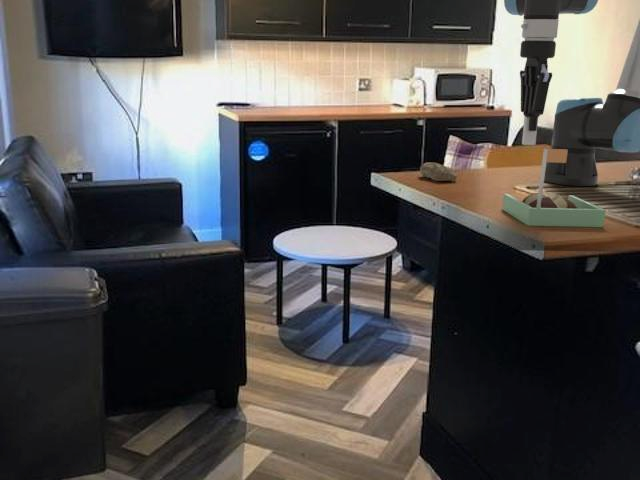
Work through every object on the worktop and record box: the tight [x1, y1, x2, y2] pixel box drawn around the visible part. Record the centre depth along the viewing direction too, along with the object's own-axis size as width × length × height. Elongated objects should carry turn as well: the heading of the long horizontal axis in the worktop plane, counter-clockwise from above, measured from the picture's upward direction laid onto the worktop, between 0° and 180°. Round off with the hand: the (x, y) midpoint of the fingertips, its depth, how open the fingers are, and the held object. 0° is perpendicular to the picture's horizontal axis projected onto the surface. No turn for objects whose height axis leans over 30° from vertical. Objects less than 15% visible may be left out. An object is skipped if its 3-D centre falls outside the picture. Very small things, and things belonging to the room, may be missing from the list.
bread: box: [522, 192, 577, 209], centre depth 146 cm, size 11×11×5 cm
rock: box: [419, 162, 458, 183], centre depth 187 cm, size 8×11×4 cm
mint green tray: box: [501, 148, 607, 228], centre depth 143 cm, size 16×15×16 cm
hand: (528, 144), depth 160 cm, fingers closed
